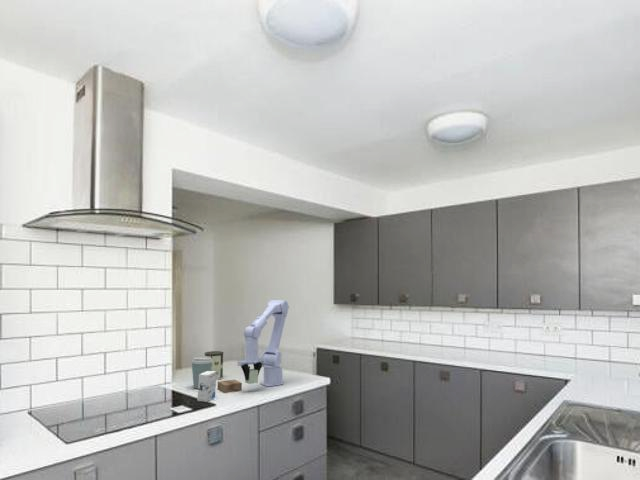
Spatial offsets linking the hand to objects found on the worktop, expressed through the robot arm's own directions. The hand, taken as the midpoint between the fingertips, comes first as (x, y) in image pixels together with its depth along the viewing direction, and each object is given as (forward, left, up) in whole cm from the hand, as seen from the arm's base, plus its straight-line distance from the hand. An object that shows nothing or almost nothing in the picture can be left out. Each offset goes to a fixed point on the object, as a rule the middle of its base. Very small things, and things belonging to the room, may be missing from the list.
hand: (251, 379), depth 209 cm
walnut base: (+7, -9, -6) cm, 13 cm away
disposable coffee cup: (+16, -22, -6) cm, 28 cm away
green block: (0, 0, -2) cm, 2 cm away
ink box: (+23, 0, -6) cm, 24 cm away
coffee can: (+2, -38, -6) cm, 39 cm away
